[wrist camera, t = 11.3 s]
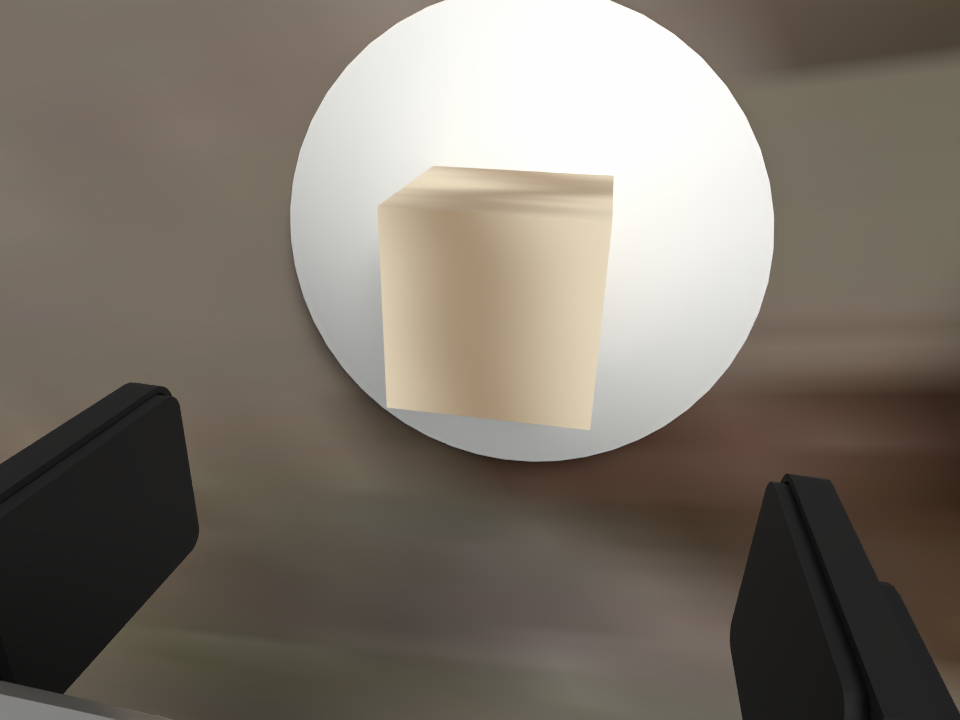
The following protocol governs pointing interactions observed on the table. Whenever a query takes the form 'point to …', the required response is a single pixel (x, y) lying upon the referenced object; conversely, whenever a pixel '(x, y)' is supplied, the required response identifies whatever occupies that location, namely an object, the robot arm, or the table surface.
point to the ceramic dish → (548, 148)
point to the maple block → (495, 293)
